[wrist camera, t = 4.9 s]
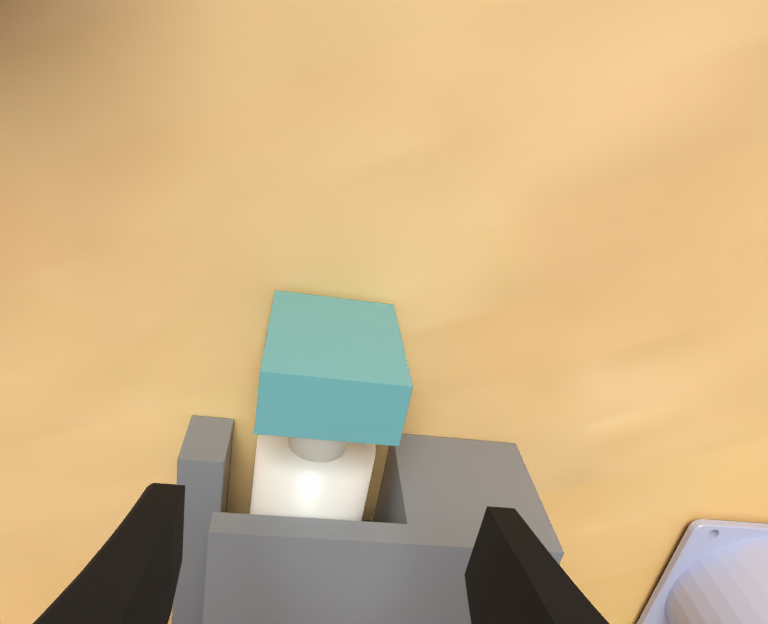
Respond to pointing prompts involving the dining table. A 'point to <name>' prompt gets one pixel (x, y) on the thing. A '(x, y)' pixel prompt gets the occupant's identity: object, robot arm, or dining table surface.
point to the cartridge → (326, 404)
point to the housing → (347, 538)
